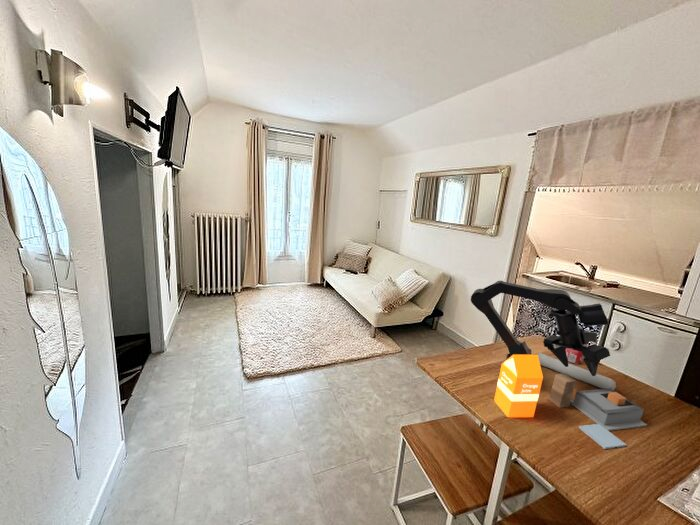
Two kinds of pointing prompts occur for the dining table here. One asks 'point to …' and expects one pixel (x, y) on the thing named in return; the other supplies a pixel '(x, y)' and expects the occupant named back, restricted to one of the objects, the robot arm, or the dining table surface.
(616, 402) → the button
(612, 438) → the mat
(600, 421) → the grey hollow block
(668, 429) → the dining table surface
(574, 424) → the dining table surface
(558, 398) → the light wood cuboid
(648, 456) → the dining table surface
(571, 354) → the soda can
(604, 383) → the tube
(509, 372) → the orange juice
